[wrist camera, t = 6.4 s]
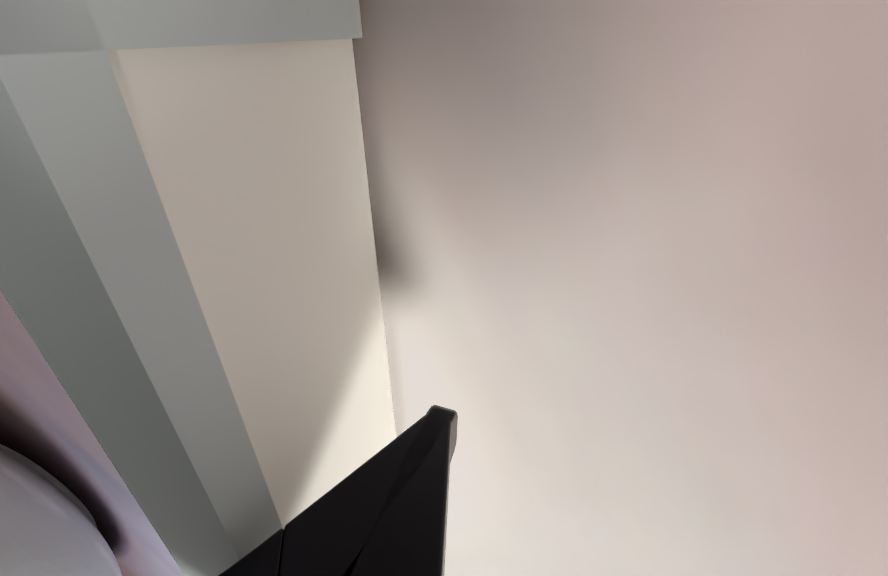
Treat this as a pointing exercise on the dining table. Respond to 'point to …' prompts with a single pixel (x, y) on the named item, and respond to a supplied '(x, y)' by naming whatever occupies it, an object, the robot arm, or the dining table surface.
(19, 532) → the serving bowl
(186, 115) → the bar
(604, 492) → the dining table surface
